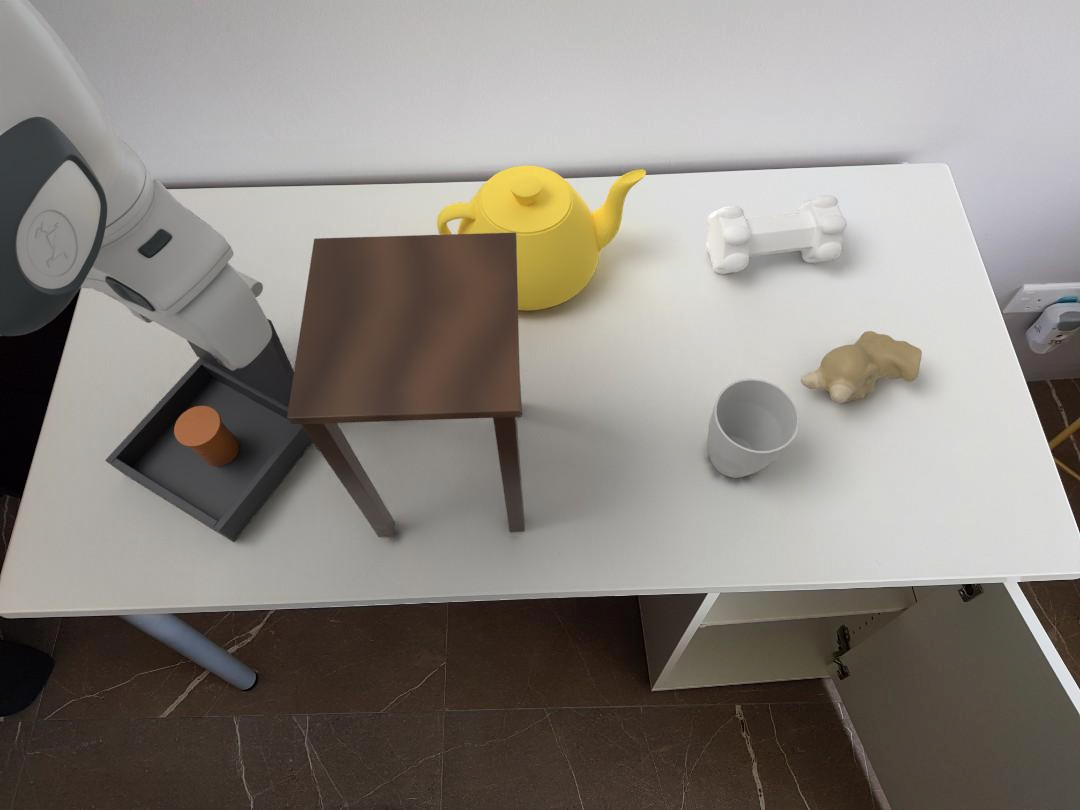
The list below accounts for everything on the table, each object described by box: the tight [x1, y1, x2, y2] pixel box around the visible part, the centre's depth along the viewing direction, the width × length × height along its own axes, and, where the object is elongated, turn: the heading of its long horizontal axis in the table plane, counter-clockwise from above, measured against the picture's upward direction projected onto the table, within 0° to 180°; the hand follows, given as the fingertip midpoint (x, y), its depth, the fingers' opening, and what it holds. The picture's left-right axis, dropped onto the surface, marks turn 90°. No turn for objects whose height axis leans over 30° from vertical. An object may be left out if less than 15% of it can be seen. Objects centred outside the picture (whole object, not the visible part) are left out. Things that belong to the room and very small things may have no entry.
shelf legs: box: [301, 383, 526, 538], centre depth 65 cm, size 15×15×27 cm
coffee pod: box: [174, 406, 239, 466], centre depth 74 cm, size 5×5×6 cm
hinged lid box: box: [104, 357, 314, 543], centre depth 76 cm, size 15×16×4 cm
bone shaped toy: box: [705, 194, 848, 275], centre depth 86 cm, size 15×9×8 cm, turn 98°
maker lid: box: [186, 270, 294, 407], centre depth 71 cm, size 15×16×5 cm
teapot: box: [436, 165, 647, 311], centre depth 84 cm, size 25×18×14 cm
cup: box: [706, 378, 800, 479], centre depth 73 cm, size 8×8×10 cm
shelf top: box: [287, 232, 522, 424], centre depth 52 cm, size 16×16×1 cm
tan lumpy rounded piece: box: [800, 330, 923, 404], centre depth 78 cm, size 8×7×12 cm
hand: (191, 337), depth 59 cm, fingers open, 8 cm apart
